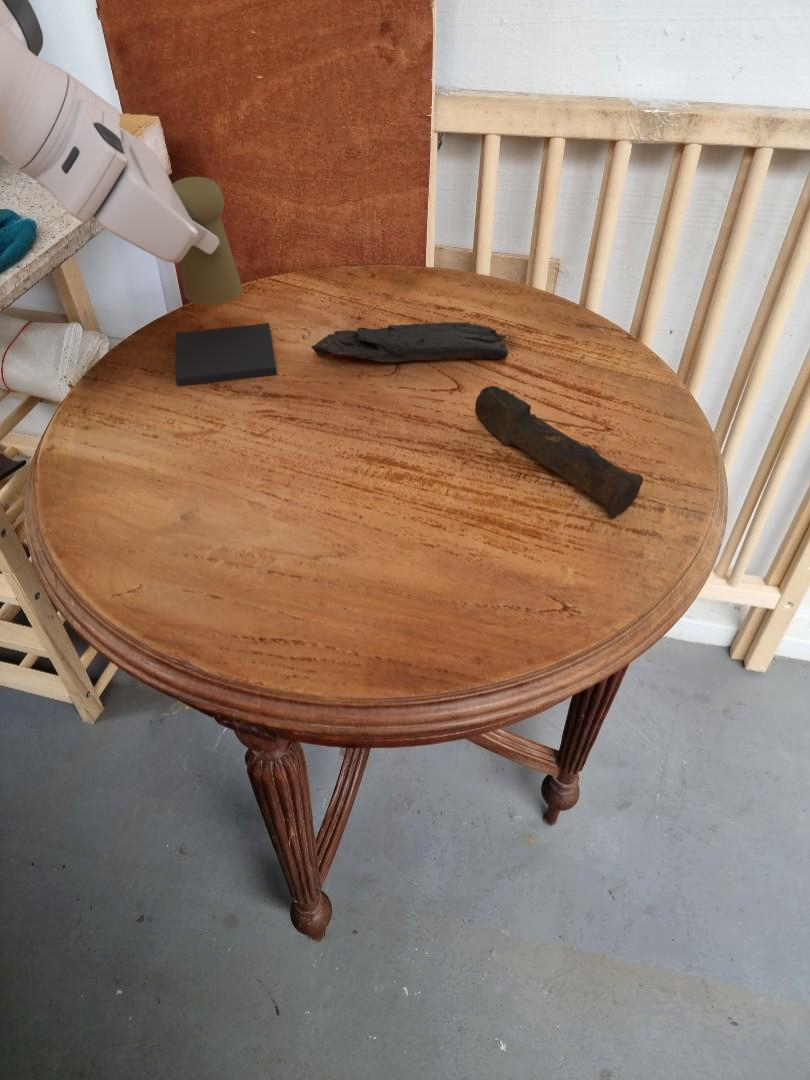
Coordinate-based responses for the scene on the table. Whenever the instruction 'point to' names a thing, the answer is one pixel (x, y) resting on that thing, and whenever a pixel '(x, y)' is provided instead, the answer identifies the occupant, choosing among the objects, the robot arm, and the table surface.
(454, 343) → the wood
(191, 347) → the mat
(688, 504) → the table surface
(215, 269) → the olive pawn
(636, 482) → the hand tool
